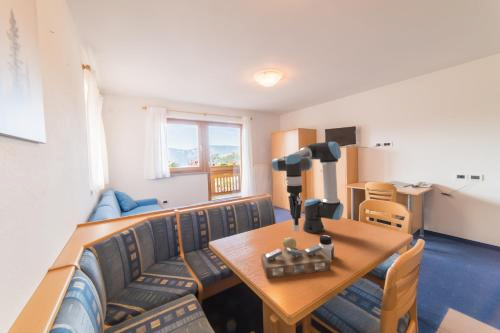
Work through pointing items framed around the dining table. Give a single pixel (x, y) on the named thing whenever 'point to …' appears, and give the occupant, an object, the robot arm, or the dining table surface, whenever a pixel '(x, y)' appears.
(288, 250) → the block
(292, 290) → the dining table surface
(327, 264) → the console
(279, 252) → the block
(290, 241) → the apple
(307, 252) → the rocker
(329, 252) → the medicine bottle
